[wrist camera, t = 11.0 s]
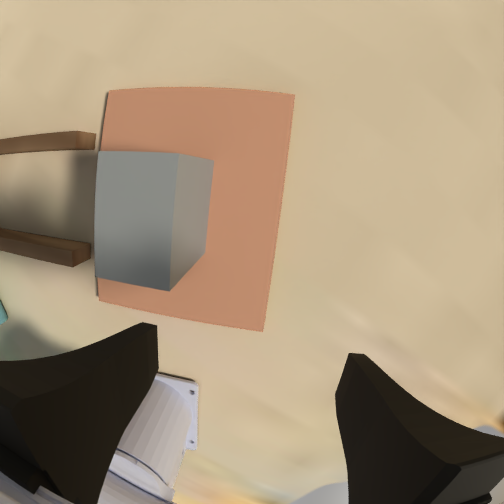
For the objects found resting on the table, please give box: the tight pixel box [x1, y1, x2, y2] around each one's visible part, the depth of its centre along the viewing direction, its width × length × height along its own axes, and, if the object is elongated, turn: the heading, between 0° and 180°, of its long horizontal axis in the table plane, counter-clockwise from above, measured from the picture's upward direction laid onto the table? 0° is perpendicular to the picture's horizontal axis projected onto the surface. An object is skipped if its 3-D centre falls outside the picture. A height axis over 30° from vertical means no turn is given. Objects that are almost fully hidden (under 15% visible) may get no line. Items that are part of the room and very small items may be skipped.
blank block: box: [94, 151, 214, 292], centre depth 16 cm, size 6×4×7 cm, turn 173°
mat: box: [97, 87, 295, 332], centre depth 20 cm, size 16×13×1 cm
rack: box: [0, 131, 96, 267], centre depth 19 cm, size 10×16×4 cm, turn 83°
